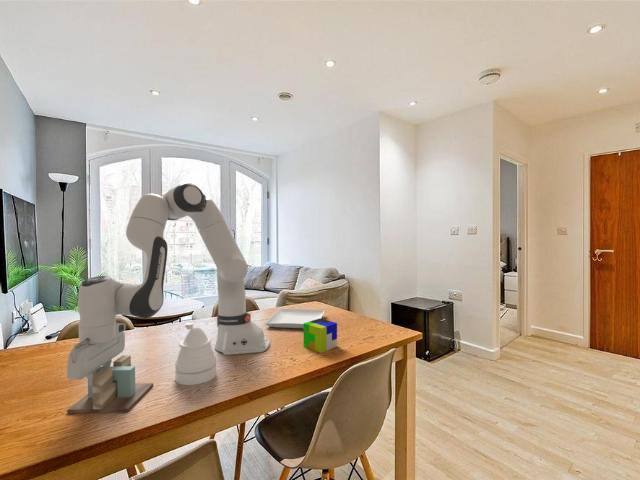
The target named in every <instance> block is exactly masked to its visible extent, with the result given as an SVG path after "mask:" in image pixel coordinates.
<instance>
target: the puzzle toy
mask: <svg viewBox="0 0 640 480" xmlns="http://www.w3.org/2000/svg"><path fill="white" fill-rule="evenodd" d="M337 347H338V323H337V322H334V321H332V320H328V319H324V318H321V319H320V318H319V319H316V320H313V321H310V322H306V323H304V329H303V348H306V349H309V350H312V351H314V352H317V353H320V354H322V353H324V351H325V352H326V351H329V350H331V349H334V348H337Z"/></svg>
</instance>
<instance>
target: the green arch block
mask: <svg viewBox="0 0 640 480" xmlns="http://www.w3.org/2000/svg"><path fill="white" fill-rule="evenodd" d="M112 368H113V381H115V380H117V394H118V397H132V396H133V395H134V394H135V393H136V391H135V383H136V366H134V365H133V366H132V365H131V366H117V367H113V366H110V367H102V366H101V367H99V368H98V369H96V373H98V372H99V371H101V370H102V369H112ZM96 373H95V374H96ZM87 394H88V398H93V391H92V385H89V379H87Z"/></svg>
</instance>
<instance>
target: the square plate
mask: <svg viewBox="0 0 640 480" xmlns="http://www.w3.org/2000/svg"><path fill="white" fill-rule="evenodd" d="M325 313H326V310H320V309H307V308H306V309H305V308H303V309H302V308H279V309H277V310H276V311H274V313H273V314H272V315H271V316H270V317H269V318H268V319H267V320H266V321H265V322H264V324H265V325H266V326H267V327H271V328H281V329H282V328H283V329H301V330H302V329H303V330H304V323H306V322H310V321H313V320H316V319H319V318H320V319H323V316H324V314H325Z"/></svg>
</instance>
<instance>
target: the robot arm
mask: <svg viewBox="0 0 640 480" xmlns="http://www.w3.org/2000/svg"><path fill="white" fill-rule="evenodd" d="M185 217H189V218H190V219H191V220H192V221H193V223H194V224H195V225H194V226H196V228H197V231H198V233H199V235H200V237H201V239H202V241H203V244H204V245H205V248H206V249H207V251H208V253H209V255H210V257H211V258H212V261H213V262H214V264H215V266H216V282H217V283H216V284H217V299H218V300H217V301H218V303H217V304H218V305H217V307H218V313H217V315H216V316H217V317H216V327H217V336H216V340H215V345H214V350H215V351H217V352H219V353H222V354H223V355H225V356H230V355H233V356H234V355H241V354H254V353H263V352H265V351H266V350H268V349H269V347H270V339H269V338H267V337H265V333H264V330H263V328H262V327H260V326H259V325H257V324H256V323H254V322H253V321H252V319H251V317H252V316H251V314H252V313H251V312H247V311H246V310H247V308H246V306H247V305H246V300H247V299H246V289H245V288H246V286H245V278H246V276H247V275H248V271H249V267H248V263H247V260H246V259H245V257H244V255H243V253H242V252H241V249H240V248H239V246H238V244H237V243H236V241H235V239H234V237H233V235H232V233H231V230H230V229H229V226H228V225H227V222H226V220H225V218H224V216H223V214H222V212H221V210H220V209H219V208H218V206H217V205H216V203H215V202H214V201H213V200H212V199H211V198H208V197H206V195H205V194H204V192H203V191H202V189H200V188H199V187H198V186H197V185H196V184H193V183H191V182H189V183H188V182H184V183H180V184H178V185H177V186H175V187H173V188H170V189H169V190H168V191H167V192H166V193H164V194H162V195H159V194H157V193H156V194H155V193H146V194H143V195H142V196H141V197H140V198H139V200H138V201H137V203H136V205H135V207H134V209H133V210H132V213H131V215H130V217H129V220H128V223H127V225H126V230H125V236H126V238H127V241H128V242H129V243H130V244H131V245H132V246H133V247H134V248H137V249H139V250H140V251H142V252H144V253H145V254H146V258H147V260H146V265H145V266H146V267H145V270H144V272H145V274H144V278H143V281H142V283H139V284H136V283H134V284H132V283H125V282H121V281H117V280H115V279H113V277H111V276H109V275H99V276H93V277H89V278H87V279H85V280H83V281H82V282H81V284H80V286H79V289H78V295H77V312H78V314H79V323H78V343H76V344H74V345H73V348H72V349H71V350H70V353H69V355H68V357H67V365H66V366H67V367H66V368H67V369H66V377H67V379H68V380H71V381H77V380H83V379H84V378H86V379H87V380H88V379H89V385H92V376H94V375H95V373H96V369H98V368H99V367H111V365H112V363H113V361H112V360H113V359H114V358H116V357H117V356H119V355H120V354H122V353H123V352H124V351H125V347H126V333H125V330H126V323H119V322H117V319H116V316H117V315H121V316H130V317H133V316H134V317H135V318H142V319H150V318H152V317H153V316H154V315H156V314H158V312H159V311H160V310H161V308H162V307H163V304H164V300H165V299H164V283H165V275H166V267H167V261H168V259H167V258H168V252H169V251H168V242H167V241H166V239H165V238H164V232H165V229H166V225H167V221H177V220H180V219H182V218H185Z"/></svg>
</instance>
